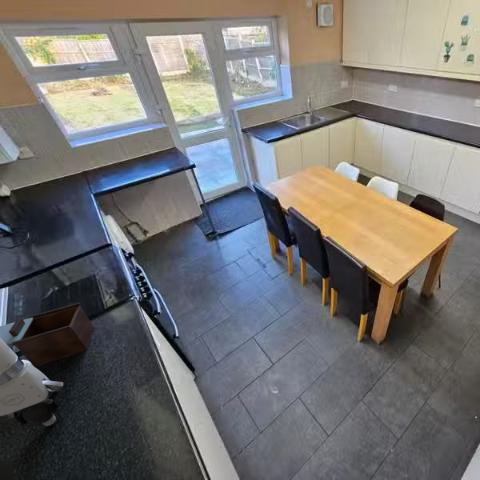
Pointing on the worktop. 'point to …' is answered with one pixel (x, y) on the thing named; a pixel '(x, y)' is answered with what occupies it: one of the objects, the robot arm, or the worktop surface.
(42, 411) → the light bulb
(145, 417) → the worktop surface
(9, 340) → the glass lid
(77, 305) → the display box
